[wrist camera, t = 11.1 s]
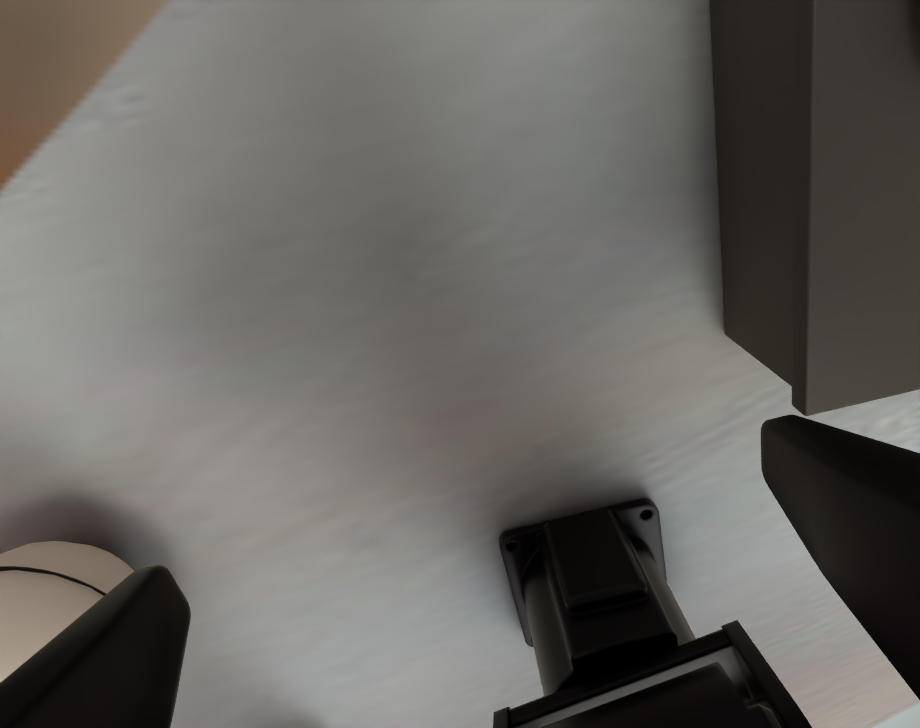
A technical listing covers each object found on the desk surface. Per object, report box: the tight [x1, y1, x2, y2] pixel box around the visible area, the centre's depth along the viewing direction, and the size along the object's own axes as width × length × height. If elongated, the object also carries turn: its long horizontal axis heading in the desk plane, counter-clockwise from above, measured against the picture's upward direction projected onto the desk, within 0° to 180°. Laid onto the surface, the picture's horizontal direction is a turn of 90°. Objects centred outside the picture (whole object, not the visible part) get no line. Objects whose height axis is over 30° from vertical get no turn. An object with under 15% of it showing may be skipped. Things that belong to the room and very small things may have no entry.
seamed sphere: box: [0, 541, 134, 683], centre depth 20 cm, size 10×7×7 cm
